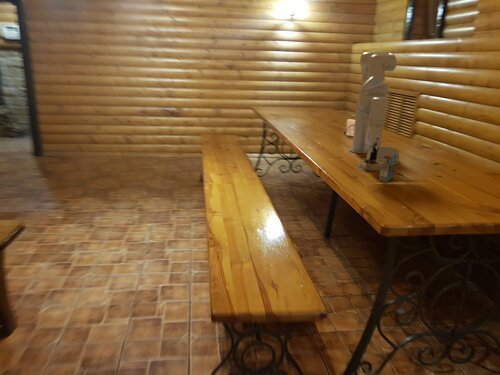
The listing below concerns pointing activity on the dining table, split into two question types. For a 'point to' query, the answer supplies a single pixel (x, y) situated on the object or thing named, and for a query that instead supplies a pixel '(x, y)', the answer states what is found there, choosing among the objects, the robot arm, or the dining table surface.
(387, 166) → the label tape box
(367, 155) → the beige cylindrical canister
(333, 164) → the dining table surface
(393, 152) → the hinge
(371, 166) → the square socket board
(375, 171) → the base board
